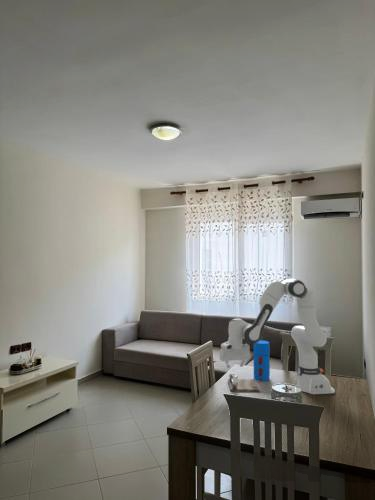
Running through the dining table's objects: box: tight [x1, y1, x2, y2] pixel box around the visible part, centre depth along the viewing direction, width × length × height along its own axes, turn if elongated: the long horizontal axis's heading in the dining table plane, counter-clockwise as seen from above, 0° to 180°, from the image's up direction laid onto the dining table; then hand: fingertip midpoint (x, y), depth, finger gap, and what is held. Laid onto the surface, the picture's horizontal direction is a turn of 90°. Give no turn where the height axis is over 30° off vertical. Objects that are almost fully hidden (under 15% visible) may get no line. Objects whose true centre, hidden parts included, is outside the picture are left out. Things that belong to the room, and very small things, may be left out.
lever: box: [229, 373, 239, 387], centre depth 224 cm, size 18×4×7 cm, turn 179°
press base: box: [227, 378, 261, 393], centre depth 224 cm, size 18×19×2 cm
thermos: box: [253, 340, 271, 382], centre depth 240 cm, size 11×11×25 cm
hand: (234, 367), depth 217 cm, fingers open, 8 cm apart
